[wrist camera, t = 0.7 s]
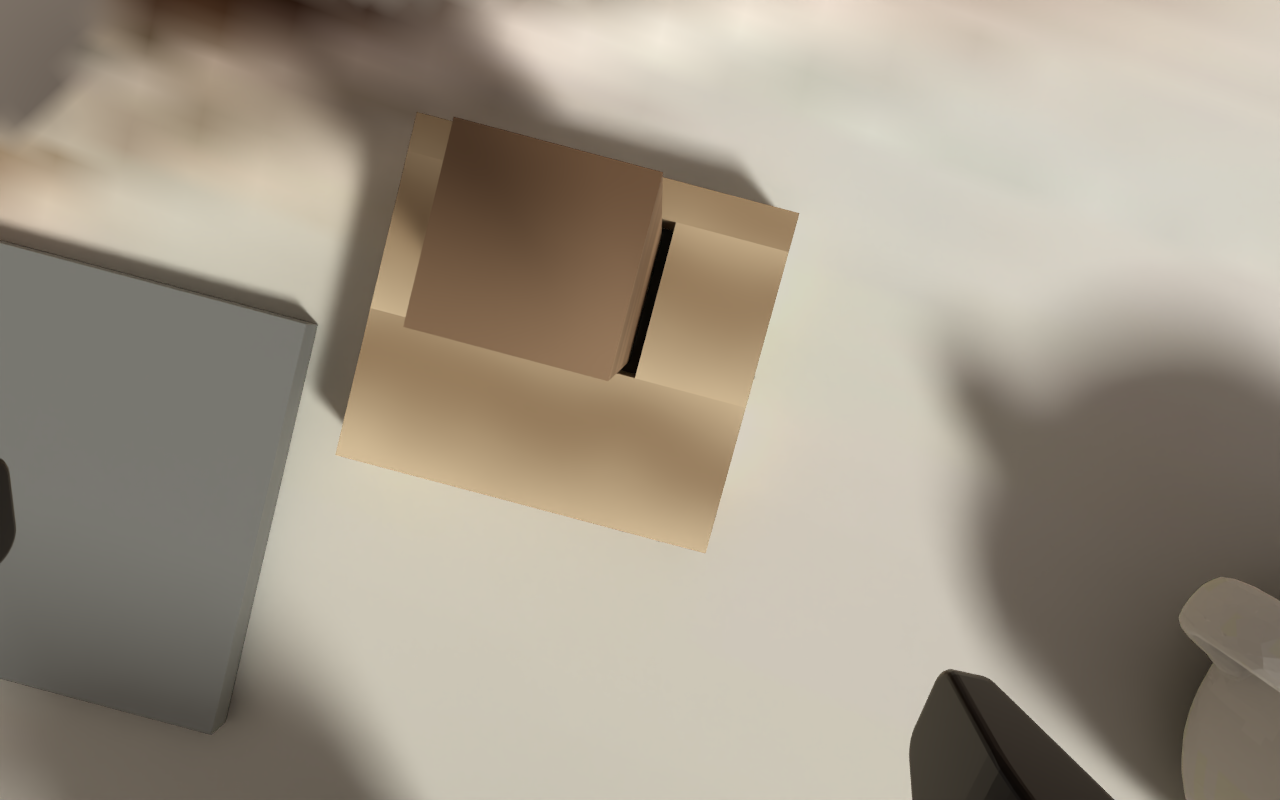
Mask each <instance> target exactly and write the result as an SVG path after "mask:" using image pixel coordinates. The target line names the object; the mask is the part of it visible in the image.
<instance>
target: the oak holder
mask: <svg viewBox="0 0 1280 800" xmlns="http://www.w3.org/2000/svg"><path fill="white" fill-rule="evenodd" d="M452 122H453V121H449V120H446V119H442V118H438V117H434V116H431V115H427V114H423V113H419V112H417V113H416V118H415V122H414V126H413V130H412V134H411V139H410V143H409V147H408V151H407V155H406V160H405V164H404V168H403V172H402V177H401V181H400V185H399V189H398V193H397V198H396V202H395V206H394V210H393V214H392V219H391V223H390V227H389V231H388V236H387V240H386V244H385V248H384V252H383V257H382V261H381V265H380V269H379V274H378V278H377V282H376V286H375V290H374V295H373V299H372V303H371V307H370V311H369V316H368V320H367V324H366V328H365V333H364V337H363V341H362V345H361V349H360V354H359V358H358V362H357V366H356V371H355V375H354V379H353V383H352V387H351V392H350V396H349V400H348V404H347V408H346V413H345V417H344V421H343V425H342V430H341V434H340V438H339V442H338V446H337V451H336V455H338V456H341V457H345V458H349V459H353V460H357V461H360V462H364V463H368V464H372V465H375V466H379V467H383V468H387V469H390V470H394V471H398V472H402V473H405V474H409V475H413V476H417V477H420V478H424V479H428V480H432V481H435V482H439V483H443V484H447V485H451V486H454V487H458V488H462V489H466V490H469V491H473V492H477V493H481V494H484V495H488V496H492V497H496V498H499V499H503V500H507V501H511V502H514V503H518V504H522V505H526V506H529V507H533V508H537V509H541V510H545V511H548V512H552V513H556V514H560V515H563V516H567V517H571V518H575V519H578V520H582V521H586V522H590V523H593V524H597V525H601V526H605V527H608V528H612V529H616V530H620V531H623V532H627V533H631V534H635V535H639V536H642V537H646V538H650V539H654V540H657V541H661V542H665V543H669V544H672V545H676V546H680V547H684V548H687V549H691V550H695V551H699V552H702V553H706V549H707V546H708V542H709V538H710V535H711V531H712V528H713V524H714V520H715V517H716V513H717V509H718V506H719V502H720V499H721V495H722V491H723V488H724V484H725V481H726V477H727V473H728V470H729V466H730V462H731V459H732V455H733V452H734V448H735V444H736V441H737V437H738V433H739V430H740V426H741V423H742V419H743V415H744V412H745V408H746V404H747V401H748V397H749V394H750V390H751V386H752V383H753V379H754V375H755V372H756V368H757V365H758V361H759V357H760V354H761V350H762V347H763V343H764V339H765V336H766V332H767V328H768V325H769V321H770V318H771V314H772V310H773V307H774V303H775V299H776V296H777V292H778V289H779V285H780V281H781V278H782V274H783V270H784V267H785V263H786V260H787V256H788V252H789V249H790V245H791V242H792V238H793V234H794V231H795V227H796V223H797V220H798V216H799V213H796V212H792V211H789V210H785V209H781V208H777V207H773V206H770V205H766V204H762V203H758V202H755V201H751V200H747V199H743V198H740V197H736V196H732V195H728V194H724V193H721V192H717V191H713V190H709V189H706V188H702V187H698V186H694V185H691V184H687V183H683V182H679V181H675V180H672V179H668V178H664V177H663V193H662V228H664V229H667V230H671V231H674V232H673V236H672V240H671V244H670V247H669V251H668V255H667V259H666V262H665V266H664V270H663V274H662V278H661V281H660V285H659V289H658V293H657V296H656V300H655V304H654V308H653V312H652V315H651V319H650V323H649V327H648V330H647V334H646V338H645V342H644V346H643V349H642V353H641V357H640V361H639V364H638V368H637V372H636V374H633V373H629V372H626V371H622V370H620V371H619V372H618V373H616V374H615V375H614V376H613V377H612V378H611V379H610V380H609V381H605V380H601V379H598V378H594V377H590V376H586V375H583V374H579V373H575V372H571V371H568V370H564V369H560V368H556V367H552V366H549V365H545V364H541V363H537V362H534V361H530V360H526V359H522V358H519V357H515V356H511V355H507V354H504V353H500V352H496V351H492V350H489V349H485V348H481V347H477V346H473V345H470V344H466V343H462V342H458V341H455V340H451V339H447V338H443V337H440V336H436V335H432V334H428V333H425V332H421V331H417V330H413V329H409V328H406V327H403V325H404V321H405V317H406V313H407V309H408V305H409V300H410V296H411V292H412V288H413V284H414V280H415V276H416V271H417V267H418V263H419V259H420V255H421V251H422V246H423V242H424V238H425V234H426V230H427V226H428V222H429V217H430V213H431V209H432V205H433V201H434V197H435V193H436V188H437V184H438V180H439V176H440V172H441V168H442V163H443V159H444V155H445V151H446V147H447V143H448V139H449V134H450V130H451V126H452Z"/></svg>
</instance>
